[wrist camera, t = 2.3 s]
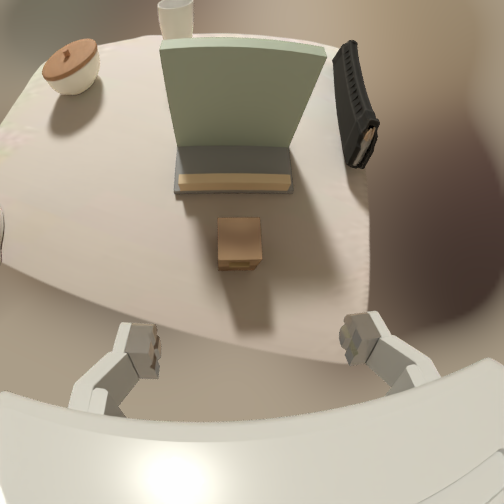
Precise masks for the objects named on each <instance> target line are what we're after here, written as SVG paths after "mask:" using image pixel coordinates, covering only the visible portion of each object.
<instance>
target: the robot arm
mask: <svg viewBox="0 0 504 504" xmlns="http://www.w3.org/2000/svg"><path fill="white" fill-rule="evenodd" d="M3 228H4V220H3V213H2V210H1V208H0V248H1V242H2V237H3ZM0 264H1V250H0ZM344 323H345V324H344V325H343V326H342V327H341V329H340V332H339V340H340V344H341V347H342V348H344V349H345V350H346V353H345V356H346V359H347V361H348V364H349V366H352V365H358V364H364V363H366V365H367V366H368V367H369V368H370V369H372V370H373V371H374V372H375V373H376V374H377V375H378V376H379V377H380V378H382V379H383V380H384V381H385V382H386V383H387V384H388V385H389V386H391V389H390V390H389V391H388V392H387V394H386V396H385V397H382V398H378V399H374V400H371V401H367V402H363V403H359V404H354V405H350V406H345V407H341V408H336V409H331V410H326V411H321V412H314V413H308V414H302V415H295V416H287V417H279V418H270V419H260V420H247V421H229V422H173V421H155V420H142V419H131V418H126V416H125V415H124V414H123V412H122V411H121V410H120V408H119V407H118V406H119V405H120V404H121V402H122V401H123V400H124V398H125V397H126V396H127V395H128V394H129V392H130V391H131V390H132V388H133V387H134V385H136V383H137V382H138V381H139V378H142V379H143V378H144V379H158V375H159V368H160V366H159V363H158V360H159V359H160V358H161V340H160V337H159V336H158V335H157V326H156V324H145V323H144V324H143V323H121V324H120V326H119V329H118V333H117V336H116V340H115V343H114V347H113V350H112V352H108V353H107V354H106V355H105V356H104V357H103V358H102V359H101V360H99V362H98V363H96V364H95V365H94V366H93V367H92V368H91V369H90V370H89V371H87V372H86V373H85V374H84V375H83V376H82V377H81V378H80V379H79V380H78V381H77V382H76V383H75V384H74V387H73V391H72V395H71V398H70V402H69V406H68V408H65V407H61V406H57V405H53V404H49V403H45V402H41V401H38V400H34V399H31V398H27V397H24V396H21V395H18V394H15V393H12V392H9V391H2V392H0V504H504V366H503V365H502V364H500V363H499V362H497V361H495V360H494V359H492V358H485V359H482V360H480V361H478V362H476V363H474V364H472V365H470V366H467V367H465V368H463V369H461V370H458V371H456V372H454V373H452V374H449V375H446V376H444V377H440V375H439V373H438V372H437V370H436V368H435V366H434V364H433V362H432V361H431V359H430V358H429V357H427V356H426V355H424V354H422V353H421V352H419V351H418V350H416V349H414V348H413V347H412V346H410V345H409V344H407V343H405V342H404V341H402V340H401V339H399V338H398V337H396V336H394V335H393V336H392V335H391V334H390V332H389V330H388V328H387V327H386V325H385V323H384V322H383V320H382V318H381V316H380V315H379V313H378V312H377V311H372V312H363V313H355V314H347V315H346V316H345V318H344Z"/></svg>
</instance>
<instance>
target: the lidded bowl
mask: <svg viewBox="0 0 504 504" xmlns="http://www.w3.org/2000/svg"><path fill="white" fill-rule="evenodd" d="M99 68H100V57H99V52H98V49H97V44H96V42H95V41H94V40H92V39H81V40H77V41H74V42H72V43H70V44H68V45H66V46H64V47H63V48H61V49H60V50H58V51H57V52H56V53H54V54H53V55H52V56H51V57H50V58H49V59H48V61H47V62H46V63H45V65H44V67H43V70H42V75H43V77H44V78H45V79H46V81H47V82H48V84H49V85H50V86H51V88H52V89H54V90H55V91H56V92H58V93H60V94H63V95H78V94H80V93H82V92H84V91H86V90H87V89H88V88H89V87H90V86H91V85H92V84H93V83H94V81H95V78H96V76H97V75H98V72H99Z"/></svg>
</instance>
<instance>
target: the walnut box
mask: <svg viewBox="0 0 504 504" xmlns="http://www.w3.org/2000/svg"><path fill="white" fill-rule="evenodd" d="M217 219H218V271H231V270H254V269H255V268H256V267H257V265H258V264H259V263H260V262H261V260H262V243H261V224H260V217H246V218H217Z"/></svg>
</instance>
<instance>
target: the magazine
mask: <svg viewBox="0 0 504 504" xmlns="http://www.w3.org/2000/svg"><path fill="white" fill-rule="evenodd" d="M332 62H333V71H334V87H335V99H336V109H337V117H338V124H339V129H340V135H341V140H342V146H343V152H344V156H345V160H346V164H347V165H348V166H350V167H352V168H360V169H363V168H364V167H365V166H366V164H367V162H368V160H369V158H370V157H371V155H372V153H373V151H374V146H375V143H376V141H377V137H378V135H377V129H378V127H379V125H380V122H379V120H378V119H376V117H375V113H374V111H373V110H372V107H371V104H370V101H369V98H368V95H367V92H366V88H365V85H364V81H363V76H362V72H361V67H360V63H359V57H358V50H357V42H356V41H354V40H349V41H348V42H347V43H345V44H343V45H342V46H341V48H340V49H339V51H338V52H337V54H336V55H335V57H334V58H333V60H332Z"/></svg>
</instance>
